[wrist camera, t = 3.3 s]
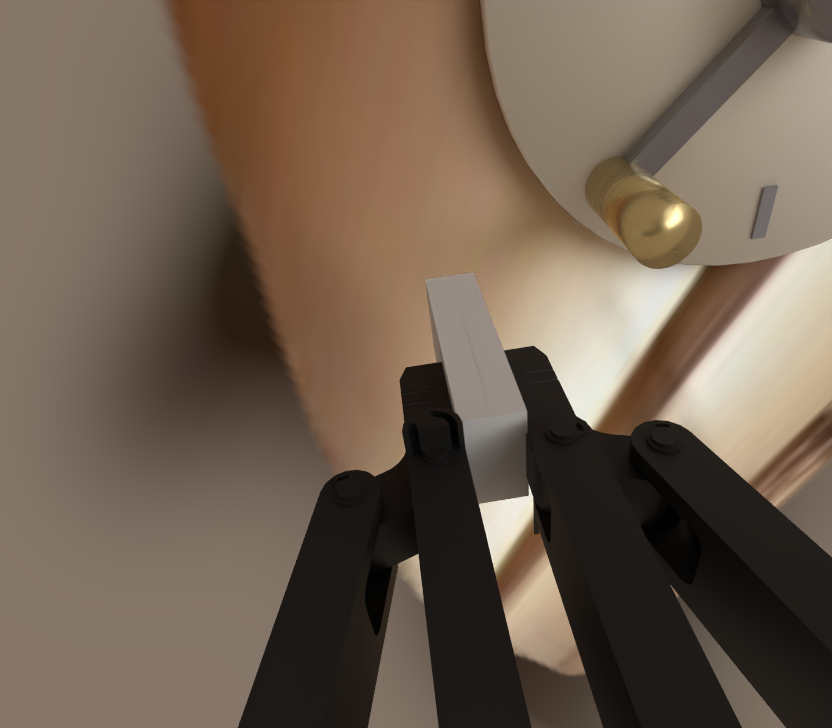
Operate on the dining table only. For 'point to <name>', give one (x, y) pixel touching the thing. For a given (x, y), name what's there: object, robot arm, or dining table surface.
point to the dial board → (651, 96)
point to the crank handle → (633, 173)
